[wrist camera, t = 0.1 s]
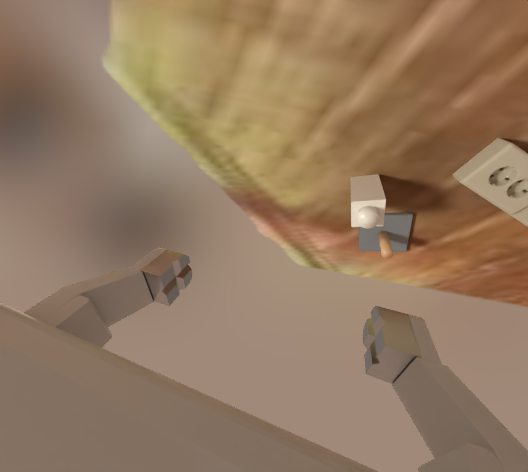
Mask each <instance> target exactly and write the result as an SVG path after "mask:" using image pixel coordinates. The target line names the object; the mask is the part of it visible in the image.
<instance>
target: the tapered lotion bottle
mask: <svg viewBox="0 0 528 472" xmlns="http://www.w3.org/2000/svg"><path fill="white" fill-rule="evenodd" d="M385 205H386V198H385V194H384V191H383V188H382V184H381V181H380V178H379V174H376V175H367V176H358V177H351V227H362V228H366V229H369V228H373V227H375V226H383V225H384V215H385Z"/></svg>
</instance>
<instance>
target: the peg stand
mask: <svg viewBox="0 0 528 472" xmlns="http://www.w3.org/2000/svg"><path fill="white" fill-rule="evenodd" d="M412 217H413V213H412V212H407V213H385V215H384V225H383V226H375V227H373V228H369V229H366V228H362V227H359V245H358V250H359V251H381V254H382V256H383V257H384V258H390V257H392V256H393V252H406V250H407V245H408V239H409V234H410V228H411V223H412Z"/></svg>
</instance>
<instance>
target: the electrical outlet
mask: <svg viewBox="0 0 528 472" xmlns="http://www.w3.org/2000/svg"><path fill="white" fill-rule="evenodd" d="M453 176H454V177H455V178H456V179H457V180H458V181H459V182H460V183H461V184H463V185H464V186H466V187H467V188H469V189H471V190H472V191H474V192H475V193H477V194H478V195H480V196H481V197H483V198H484V199H486V200H487V201H489V202H490V203H492V204H493V205H495V206H496V207H498V208H500V209H501V210H503V211H504V212H506V213H507V214H509V215H511V216H512V217H514V218H515V219H517V220H518V221H520V222H521V223H523V224H524V225H526V226H528V153H527V152H525V151H524V150H522V149H521V148H519V147H518V146H516V145H515V144H513V143H511V142H509V141H506V140H504V139H501V138H497V139H496V140H495V141H493V142H492V143H491V144H490V145H488V146H487V147H486V148H485V149H483V150H482V151H481V152H480V153H478V154H477V155H476V156H475V157H473V158H472V159H471V160H470V161H468V162H467V163H466V164H465V165H463V166H462V167H461V168H460V169H458V170H457V171H456V172H455V173H453Z"/></svg>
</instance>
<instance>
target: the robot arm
mask: <svg viewBox="0 0 528 472" xmlns="http://www.w3.org/2000/svg"><path fill="white" fill-rule="evenodd" d="M189 263H190V260H189V257H188V256H186V255H184V254H181V253H177V252H174V251H170V250H167V249H163V248H157V249H155V250H154V251H152V252H151V253H150V254H148V255H147V256H146V257H144V258H143V259H142V260H140V261H139V262H137V263H136V264H135V265H133V266H132V267H131V268H129V267H127V268H123V269H120V270H117V271H114V272H110V273H108V274H104V275H101V276H98V277H95V278H91V279H89V280H85V281H82V282H79V283H76V284H72V285H69V286H66V287H63V288H62V289H60V290H59V291H57V292H55V293H54V294H52V295H51V296H49V297H47V298H46V299H44V300H43V301H41V302H40V303H38V304H37V305H35V306H33V307H32V308H30V309H29V310H27V311H26V312H24V313H23V312H21V311H18V310H16V309H14V308H12V307H10V306H7V305H5V304H3V303H1V302H0V472H378V471H376V470H373V469H371V468H369V467H367V466H364V465H362V464H360V463H358V462H356V461H353V460H351V459H349V458H346V457H344V456H342V455H340V454H338V453H335V452H333V451H331V450H329V449H326V448H324V447H322V446H320V445H318V444H315V443H313V442H311V441H309V440H307V439H304V438H302V437H300V436H297V435H295V434H293V433H291V432H289V431H286V430H284V429H282V428H280V427H277V426H275V425H273V424H271V423H269V422H266V421H264V420H262V419H259V418H257V417H255V416H253V415H251V414H248V413H246V412H244V411H242V410H240V409H237V408H235V407H233V406H231V405H228V404H226V403H224V402H222V401H219V400H217V399H215V398H213V397H211V396H208V395H206V394H204V393H202V392H199V391H197V390H195V389H193V388H190V387H188V386H186V385H184V384H181V383H179V382H177V381H175V380H173V379H170V378H168V377H166V376H164V375H161V374H159V373H157V372H155V371H153V370H150V369H148V368H146V367H143V366H141V365H139V364H136V363H135V362H132V361H130V360H128V359H126V358H124V357H121V356H119V355H117V354H114V353H112V352H110V351H108V350H106V349H103V348H102V347H103V346H104V345H105V344H106V343H107V342H108V341H109V340H110V339H111V337H112V334H111V332H110V331H109V329H108V328H107V327H109V326H110V325H112V324H114V323H116V322H118V321H120V320H121V319H123V318H125V317H127V316H129V315H131V314H133V313H134V312H136V311H138V310H140V309H142V308H144V307H145V306H147V305H149V304H151V303H153V302H154V301H155V302H159V303H162V304H165V305H169V306H170V305H171V304H172V303H173V301H174V300H175V299H176V298H177V297H178V295H179V291H180V290H182V289H184V288H186V287H187V285H188V284H189V283H190V280H191V278H192V269H191V268H190V267H189V265H188V264H189ZM371 316H372V318H370V319H367V321H366V323H365V326H364V330H363V344H364V345H365V347H366V348H367V352H366V354H365V355H364V357H365V368H366V374H368V375H370V376H373V377H375V378H378V379H381V380H384V381H386V382H389V383H392V386H393V388H394V389H395V391H396V393H397V395H398V396H399V398H400V400H401V401H402V403H403V405H404V407H405V408H406V410H407V412H408V413H409V415H410V417H411V418H412V420H413V422H414V424H415V425H416V427H417V429H418V430H419V432H420V434H421V436H422V437H423V439H424V441H425V442H426V444H427V446H428V447H429V449H430V451H431V453H432V454H433V456H434V458H435V459H433V460H431V461H429V462H427V463H425V464H423V465H422V466H420V467H419V468H418V470H419V472H528V451H527V450H526V448H524V446H523V445H522V444H521V443H520V442H519V441H518V440H517V439H516V438H515V437H514V436H513V435H512V434H511V433H510V432H509V431H508V430H507V428H506V427H505V426H504V425H503V424H502V423H501V422H500V421H499V420H498V419H497V418H496V417H495V416H494V415H493V414H492V413H491V412H490V411H489V410H488V409H487V408H486V406H485V405H484V404H483V403H482V402H481V401H480V400H479V399H478V398H477V397H476V396H475V395H474V394H473V393H472V392H471V391H470V390H469V389H468V388H467V386H466V385H465V384H464V383H463V382H461V380H460V379H459V378H458V377H457V376H456V375H455V374H454V373H453V372H452V371H451V370H450V369H449V367H447V366H444V365H442V363H441V361H440V358H439V356H438V353H437V351H436V348H435V345H434V343H433V341H432V338H431V335H430V333H429V331H428V328H427V325H426V323H425V321H424V319H423V318H421V317H417V316H413V315H409V314H404V313H401V312H397V311H394V310H390V309H386V308H382V307H378V306H375V307H374V308H373V309H372V311H371Z"/></svg>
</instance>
